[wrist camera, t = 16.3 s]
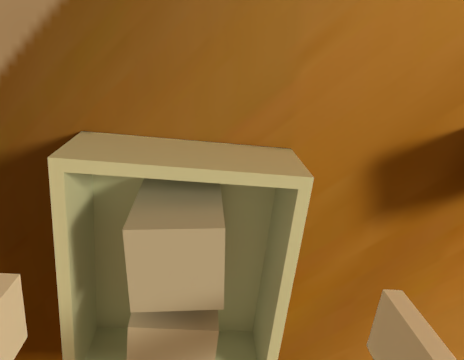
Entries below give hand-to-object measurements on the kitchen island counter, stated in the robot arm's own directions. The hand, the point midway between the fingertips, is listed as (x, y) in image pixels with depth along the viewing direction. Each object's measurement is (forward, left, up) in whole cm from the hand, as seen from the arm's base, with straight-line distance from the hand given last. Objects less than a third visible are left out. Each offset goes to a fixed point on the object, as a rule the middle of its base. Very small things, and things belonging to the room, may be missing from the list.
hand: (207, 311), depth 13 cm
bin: (-2, +1, -8) cm, 9 cm away
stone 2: (-5, +1, -8) cm, 9 cm away
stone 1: (0, +1, -8) cm, 8 cm away
